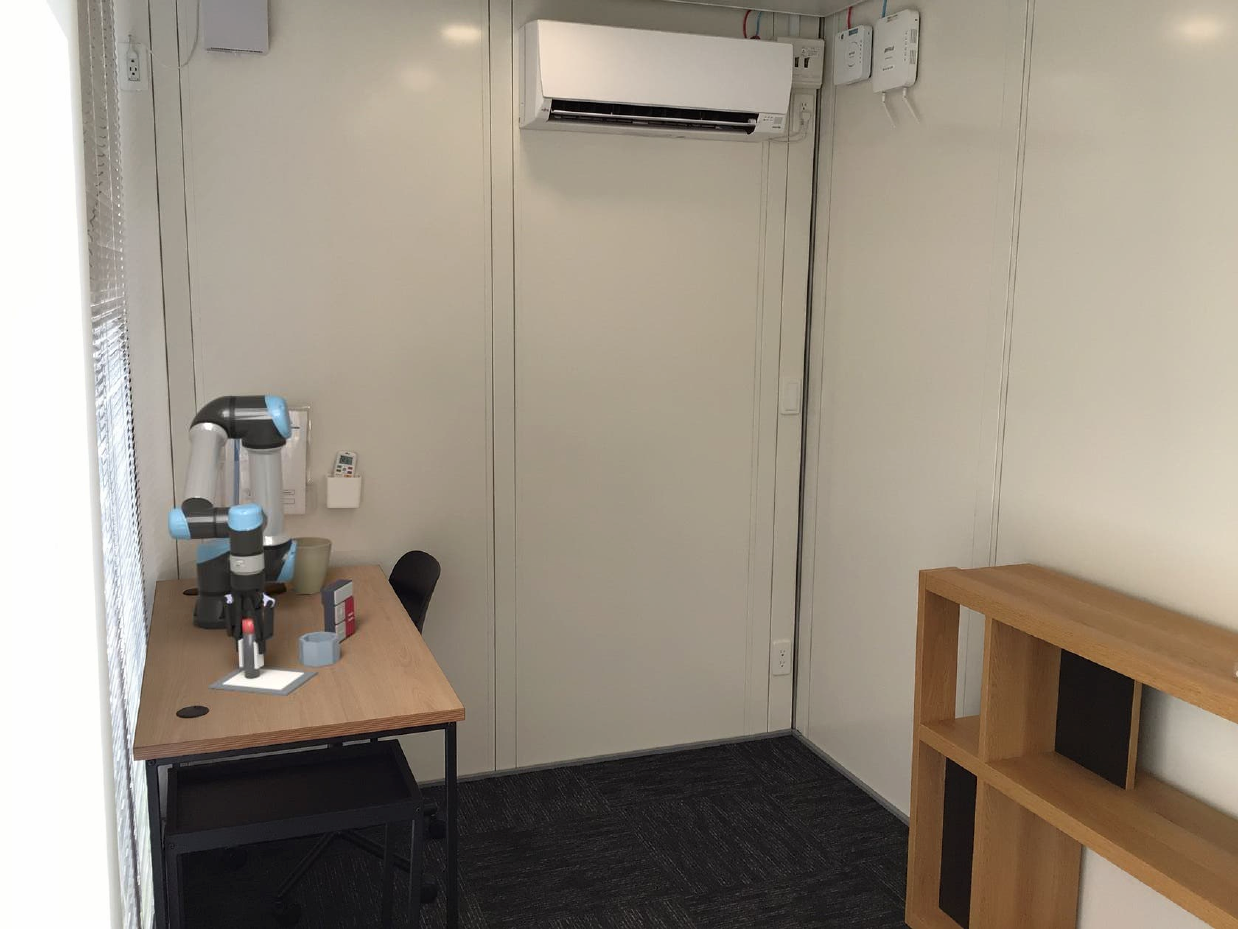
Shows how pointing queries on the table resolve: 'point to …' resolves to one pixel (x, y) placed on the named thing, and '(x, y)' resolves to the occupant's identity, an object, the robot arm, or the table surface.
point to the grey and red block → (339, 608)
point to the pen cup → (319, 649)
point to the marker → (249, 649)
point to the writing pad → (265, 681)
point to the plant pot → (310, 564)
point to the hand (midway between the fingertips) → (251, 665)
